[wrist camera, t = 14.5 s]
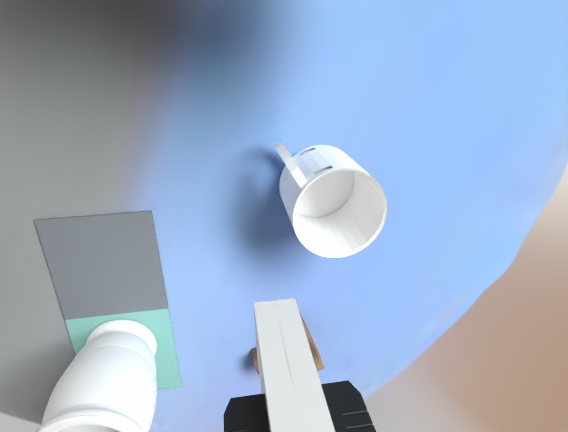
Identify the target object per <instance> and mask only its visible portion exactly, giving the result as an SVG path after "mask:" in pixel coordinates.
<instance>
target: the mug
mask: <svg viewBox="0 0 568 432" xmlns="http://www.w3.org/2000/svg"><path fill="white" fill-rule="evenodd" d="M274 146H275V148H276V150H277V151H278V153H279V155H280V156H281V158H282V160H283V161H284V163H285V164H286V165H285V167H284V169H283V171H282V174H281V177H280V183H279V188H280V195H281V198H282V201H283V203H284V206H285V208H286V211H287V213H288V216H289V218H290V221H291V223H292V226H293V228H294V231H295V233H296V235H297V237H298V239H299V240H300V242H301V243H302V244H303V245H304V246H305V247H306V248H307V249H308V250H310V251H311V252H313V253H315V254H317V255H320V256H324V257H331V258H338V257H345V256H349V255H352V254H355V253H357V252H359V251H360V250H362V249H364V248H365V247H366V246H368V245H369V244H370V243H371V242H372V241H373V240H374V239H375V238H376V237H377V235H378V234H379V232H380V231H381V229H382V227H383V225H384V222H385V219H386V214H387V202H386V196H385V194H384V191H383V189H382V187H381V186H380V185H379V183H378V182H377V181H376V180H375V179H374V178H373V177H371V176H370V175H369V174H368V173H367V172H366V171H365V170H363V169H362V168H361V167H360V166H359V165H358V164H357V163H356V162H354V161H353V160H352V159H351V158H350V157H349V156H348V155H346V154H345V153H344V152H343V151H341V150H339V149H338V148H335V147H332V146H328V145H315V146H311V147H308V148H305V149H303V150H301V151H299V152H298V153H296V154H295V155H294V156H293V157H291V155H290V153H289V152H288V150H287V149H286V147H285V146H284V144H283V143H282V141H281V142H279V143H278V144H276V145H274Z"/></svg>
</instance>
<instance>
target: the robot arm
mask: <svg viewBox="0 0 568 432" xmlns="http://www.w3.org/2000/svg"><path fill="white" fill-rule="evenodd" d="M254 315H255V330H256V345H257V360H258V368H259V376H260V384H261V392H262V394H257V395H250V396H243V397H236V398H231V399H230V401H229V403H228V406H227V408H226V411H225V413H224V432H376V431H375V428H374V426H373V425H372V421H371V418H370V416H369V413H368V412H367V409H366V406H365V404H364V401H363V398H362V396H361V393H360V392H359V391H358V390H357V389H356V388H355V387H354V386H353V385H352V384H351V383H350V382H349V381H342V382H335V383H328V384H321V383H320V379H319V376H318V373H317V370H316V366H315V363H314V360H313V356H312V353H311V350H310V346H309V343H308V340H307V336H306V333H305V330H304V326H303V323H302V320H301V316H300V313H299V310H298V307H297V303H296V300H295V298H293V299H284V300H275V301H266V302H257V303H254Z"/></svg>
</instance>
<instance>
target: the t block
mask: <svg viewBox="0 0 568 432" xmlns="http://www.w3.org/2000/svg"><path fill="white" fill-rule="evenodd" d="M299 313H300V312H299ZM300 316H301V314H300ZM301 320H302V323H303V326H304V330H305V333H306V336H307V340H308V343H309V346H310V350H311V353H312V356H313V360H314V363H315V366H316V370H317V371H319V370H322V369H324V367H323V364H322V361H321V358H320V355H319V352H318V350H317V348H316V346H315V343H314V341H313V339H312V337H311V335H310V333H309V331H308V329H307V327H306V324H305V322H304V320H303V318H302V316H301ZM252 356H253V365H254V367H255V369H256V370H257V372H258V374H259V368H258V360H257V347H256V348H253V349H252Z"/></svg>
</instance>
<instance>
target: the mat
mask: <svg viewBox="0 0 568 432" xmlns="http://www.w3.org/2000/svg"><path fill="white" fill-rule="evenodd" d="M34 222H35V225H36V228H37V232H38V235H39V238H40V241H41V245H42V248H43V251H44V254H45V258H46V261H47V264H48V267H49V271H50V274H51V277H52V280H53V284H54V287H55V290H56V293H57V297H58V300H59V303H60V306H61V310H62V313H63V316H64V319H65V322H66V326H67V329H68V332H69V335H70V339H71V342H72V345H73V348H74V352H75V355H77V354H78V352H79V351H80V350H81V349H82V348H83V347H84V346H85V344H86V340H87V338H88V336H89V334H90V333H91V332H92V331H93V330H94V329H95V328H96V327H98V326H99V325H101V324H103V323H106V322H108V321H112V320H131V321H135V322H138V323H140V324H142V325H144V326H145V327H147V328H148V329H149V330H150V331H151V332H152V333H153V335H154V337H155V339H156V343H157V350H156V354H155V356H154V358H155V362H156V382H157V390H162V389H169V388H176V387H182V383H181V377H180V372H179V366H178V360H177V355H176V349H175V343H174V337H173V332H172V326H171V320H170V314H169V309H168V303H167V297H166V292H165V286H164V280H163V274H162V269H161V263H160V257H159V251H158V246H157V240H156V234H155V229H154V223H153V217H152V211H141V212H128V213H116V214H103V215H91V216H78V217H66V218H53V219H41V220H34Z"/></svg>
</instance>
